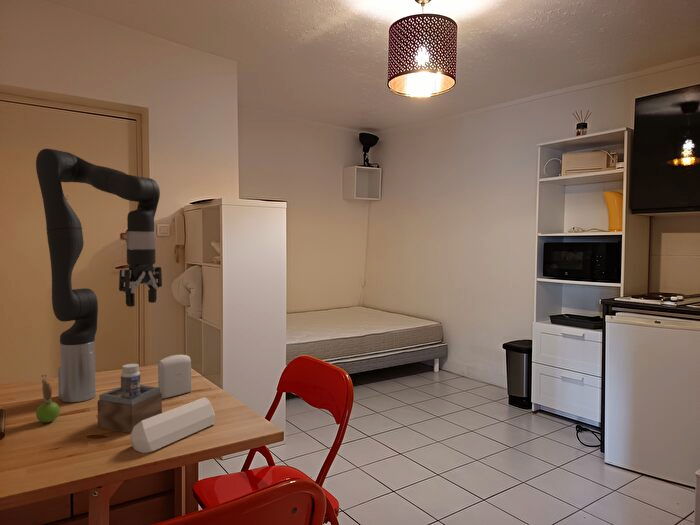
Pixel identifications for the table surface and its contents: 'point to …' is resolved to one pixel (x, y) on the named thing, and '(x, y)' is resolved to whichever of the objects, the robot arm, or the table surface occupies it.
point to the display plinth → (128, 408)
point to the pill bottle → (130, 380)
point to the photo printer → (174, 375)
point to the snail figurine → (47, 405)
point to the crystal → (172, 425)
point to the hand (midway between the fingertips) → (141, 304)
